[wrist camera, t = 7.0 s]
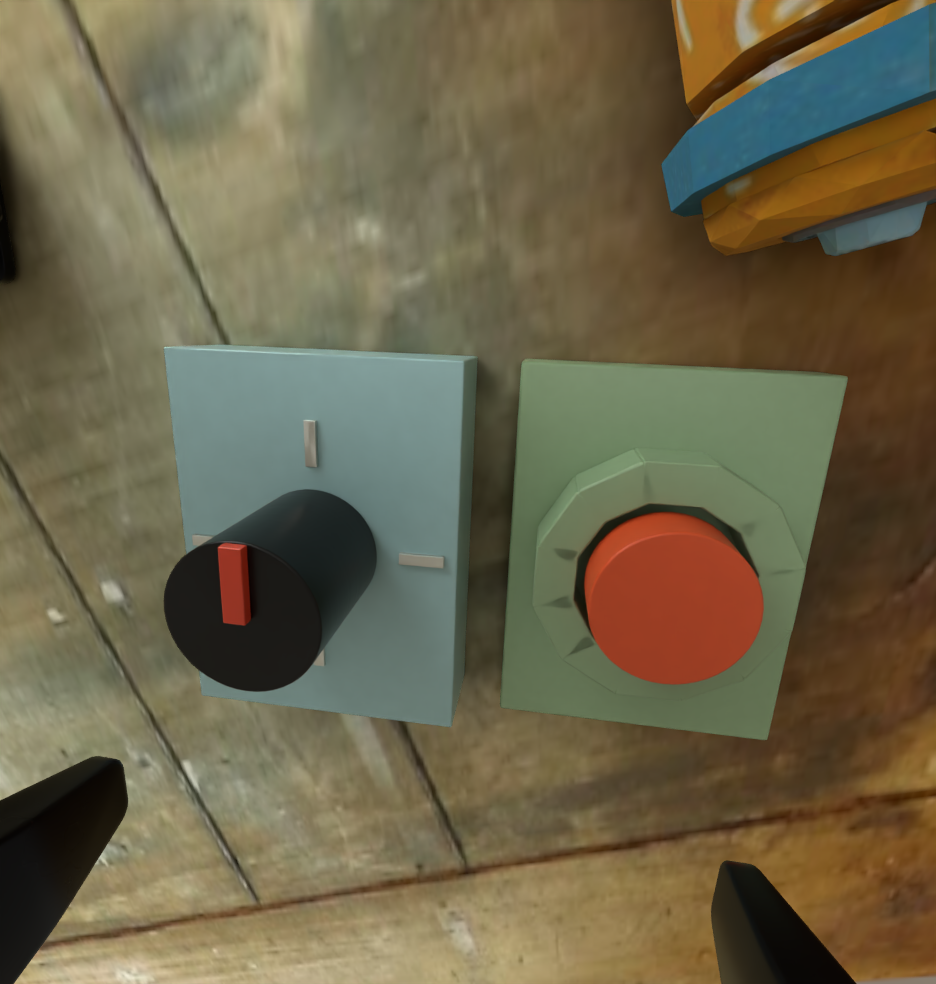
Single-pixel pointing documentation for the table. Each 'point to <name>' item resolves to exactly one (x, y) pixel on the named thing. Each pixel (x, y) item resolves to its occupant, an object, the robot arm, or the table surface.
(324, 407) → the dial panel
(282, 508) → the dial
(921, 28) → the device
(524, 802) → the table surface
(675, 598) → the button
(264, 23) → the table surface
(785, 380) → the switch box
